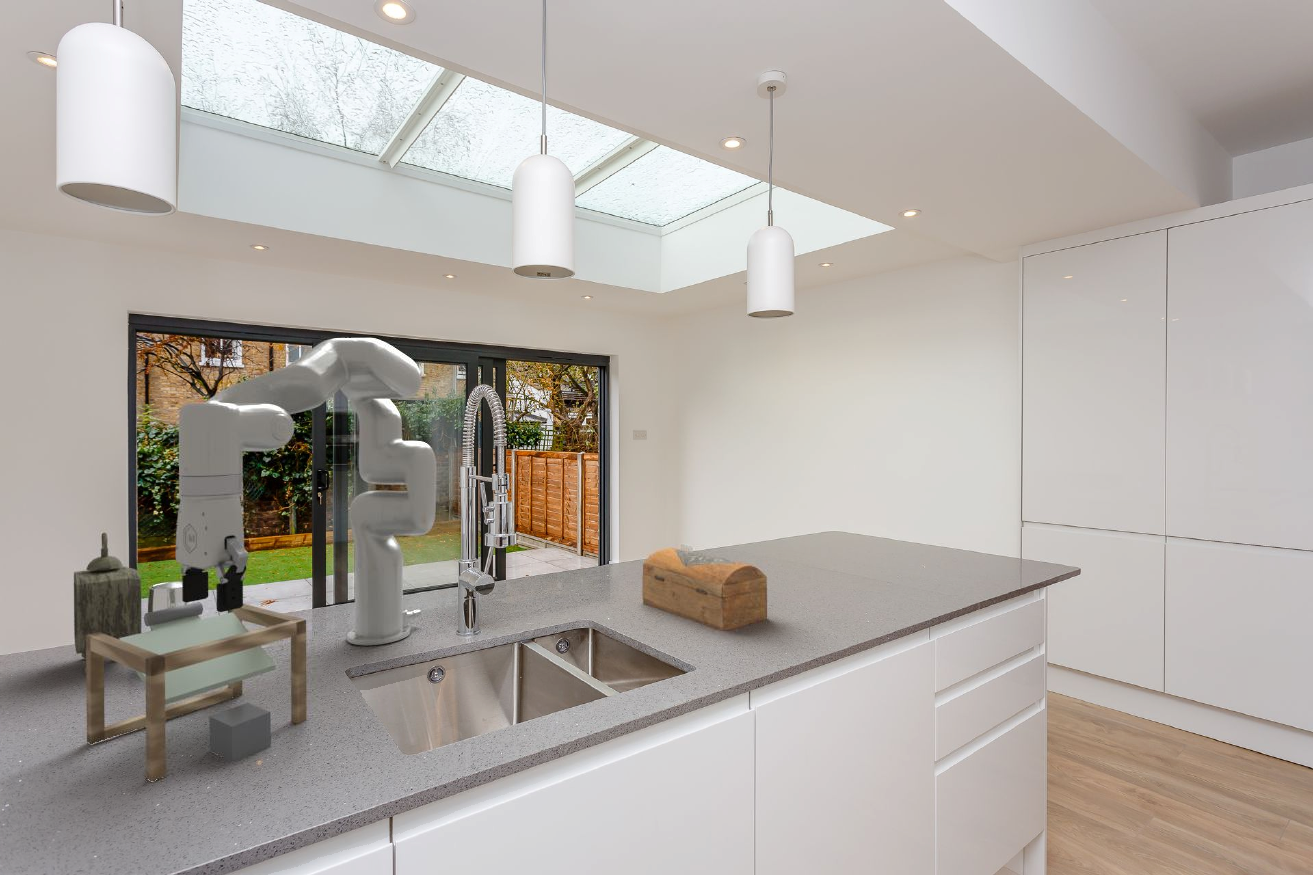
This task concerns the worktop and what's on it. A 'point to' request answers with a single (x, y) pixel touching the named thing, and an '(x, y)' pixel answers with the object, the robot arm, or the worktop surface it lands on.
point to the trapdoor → (190, 630)
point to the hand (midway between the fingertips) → (212, 604)
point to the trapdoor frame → (157, 665)
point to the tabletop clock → (106, 599)
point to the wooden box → (705, 588)
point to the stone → (240, 732)
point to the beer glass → (165, 596)
